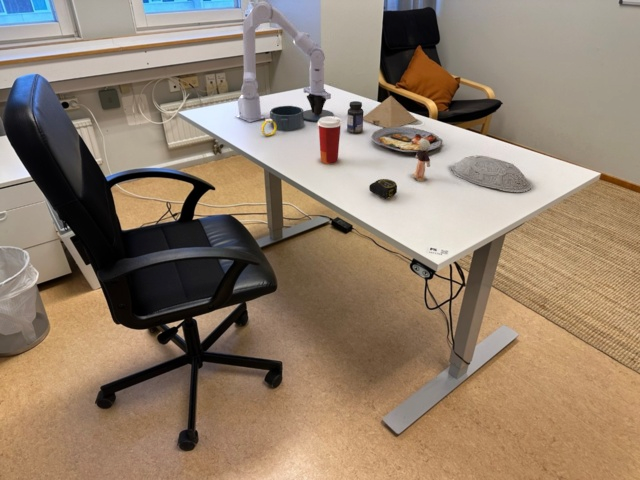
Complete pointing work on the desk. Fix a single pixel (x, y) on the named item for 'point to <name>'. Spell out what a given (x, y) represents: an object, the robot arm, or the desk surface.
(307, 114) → the lid
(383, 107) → the model pyramid
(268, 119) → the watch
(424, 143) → the grandmother figurine
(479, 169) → the grey oval dome
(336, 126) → the paper cup
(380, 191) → the tape measure
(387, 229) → the desk surface
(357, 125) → the pill bottle
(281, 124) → the pot
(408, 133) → the food plate
